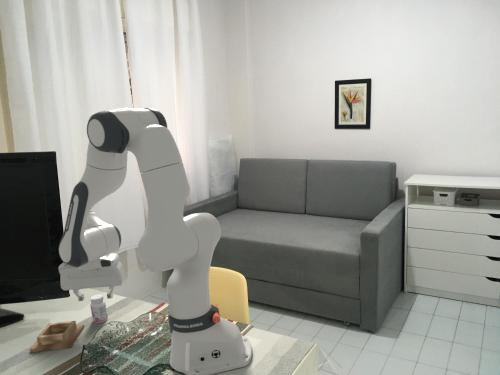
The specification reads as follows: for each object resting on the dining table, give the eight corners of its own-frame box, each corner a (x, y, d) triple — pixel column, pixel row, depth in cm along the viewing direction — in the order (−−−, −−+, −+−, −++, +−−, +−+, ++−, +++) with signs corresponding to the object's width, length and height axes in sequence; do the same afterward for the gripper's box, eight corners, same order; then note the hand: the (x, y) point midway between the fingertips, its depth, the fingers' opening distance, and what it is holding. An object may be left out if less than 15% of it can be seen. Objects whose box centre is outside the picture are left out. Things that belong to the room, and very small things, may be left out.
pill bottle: (89, 322, 139) (85, 298, 138) (100, 315, 143) (97, 292, 142) (100, 324, 137) (96, 300, 136) (110, 317, 141) (107, 294, 140)
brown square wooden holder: (84, 327, 136) (82, 317, 136) (71, 347, 124) (69, 337, 124) (47, 331, 136) (45, 321, 135) (30, 352, 124) (28, 341, 123)
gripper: (53, 266, 133) (60, 306, 136) (118, 260, 134) (124, 300, 137) (61, 259, 139) (67, 297, 142) (123, 254, 140) (128, 292, 143)
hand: (95, 299), depth 139 cm, fingers open, 8 cm apart
